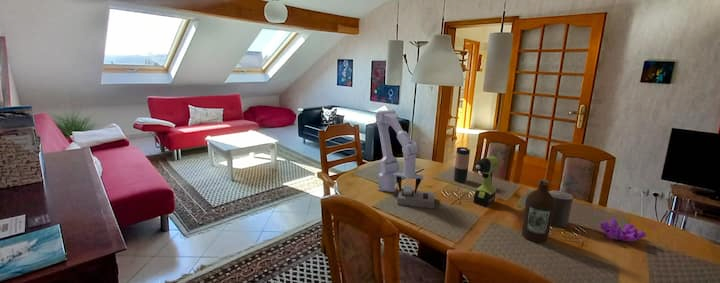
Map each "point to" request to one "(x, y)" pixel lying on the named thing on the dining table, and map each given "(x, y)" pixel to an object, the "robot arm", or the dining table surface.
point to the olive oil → (538, 214)
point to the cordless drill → (486, 181)
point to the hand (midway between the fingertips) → (407, 191)
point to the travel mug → (461, 164)
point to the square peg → (408, 190)
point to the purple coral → (621, 231)
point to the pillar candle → (561, 208)
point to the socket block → (417, 199)
